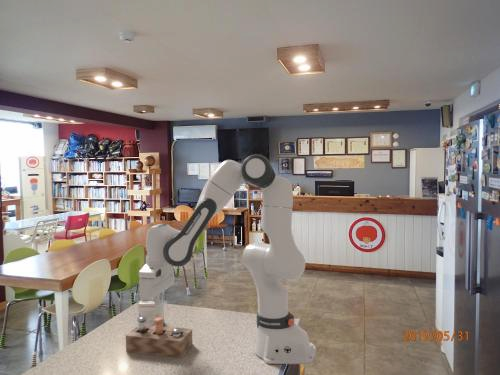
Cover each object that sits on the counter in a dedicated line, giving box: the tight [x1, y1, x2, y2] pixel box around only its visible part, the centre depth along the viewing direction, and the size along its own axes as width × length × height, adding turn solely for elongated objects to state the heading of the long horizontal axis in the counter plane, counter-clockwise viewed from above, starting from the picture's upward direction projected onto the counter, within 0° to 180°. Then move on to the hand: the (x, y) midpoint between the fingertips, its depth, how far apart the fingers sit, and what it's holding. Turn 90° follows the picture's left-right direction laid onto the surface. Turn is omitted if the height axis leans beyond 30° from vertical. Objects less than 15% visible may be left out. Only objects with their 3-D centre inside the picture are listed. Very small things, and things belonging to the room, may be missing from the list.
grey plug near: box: [172, 326, 182, 337], centre depth 134 cm, size 4×4×6 cm
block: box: [125, 324, 193, 359], centre depth 136 cm, size 22×10×6 cm, turn 76°
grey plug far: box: [136, 316, 147, 333], centre depth 138 cm, size 4×4×6 cm
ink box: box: [137, 298, 165, 325], centre depth 154 cm, size 9×8×13 cm
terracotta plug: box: [154, 317, 165, 335], centre depth 136 cm, size 4×4×6 cm
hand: (158, 304), depth 136 cm, fingers closed
